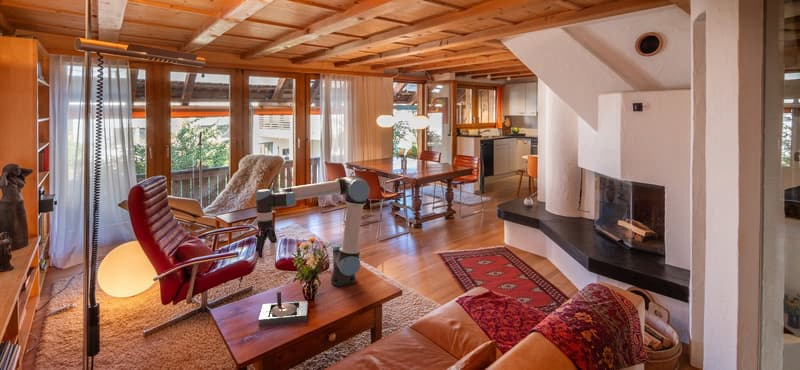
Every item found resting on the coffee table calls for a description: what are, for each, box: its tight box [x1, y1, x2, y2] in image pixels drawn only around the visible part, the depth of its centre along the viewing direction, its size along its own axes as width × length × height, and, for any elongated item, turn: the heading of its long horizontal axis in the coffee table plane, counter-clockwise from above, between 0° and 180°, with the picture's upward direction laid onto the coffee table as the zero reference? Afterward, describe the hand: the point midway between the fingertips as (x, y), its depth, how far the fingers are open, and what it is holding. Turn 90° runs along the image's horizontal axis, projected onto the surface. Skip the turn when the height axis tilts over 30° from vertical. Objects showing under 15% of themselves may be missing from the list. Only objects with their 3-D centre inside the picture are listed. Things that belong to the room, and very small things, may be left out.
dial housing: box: [258, 300, 309, 327], centre depth 205 cm, size 22×16×4 cm
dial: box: [271, 291, 297, 317], centre depth 204 cm, size 12×12×9 cm
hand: (267, 258), depth 217 cm, fingers open, 13 cm apart
